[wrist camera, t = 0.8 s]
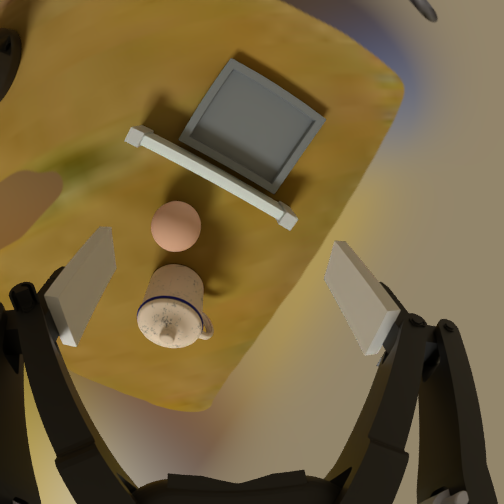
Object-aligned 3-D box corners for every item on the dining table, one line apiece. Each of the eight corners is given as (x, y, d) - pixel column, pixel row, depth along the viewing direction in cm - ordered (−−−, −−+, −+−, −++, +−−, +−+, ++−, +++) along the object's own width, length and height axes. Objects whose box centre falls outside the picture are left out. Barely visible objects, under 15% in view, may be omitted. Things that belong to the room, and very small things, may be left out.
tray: (180, 138, 32) (178, 140, 30) (230, 60, 27) (231, 58, 26) (272, 191, 36) (274, 194, 35) (322, 119, 32) (326, 119, 31)
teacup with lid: (138, 287, 41) (120, 339, 31) (171, 250, 39) (156, 300, 29) (195, 325, 46) (192, 378, 36) (230, 295, 44) (234, 349, 33)
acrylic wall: (136, 137, 31) (124, 140, 27) (142, 125, 30) (131, 126, 26) (282, 217, 38) (290, 230, 34) (289, 207, 38) (298, 219, 34)
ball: (149, 225, 37) (138, 246, 31) (169, 186, 34) (159, 201, 29) (189, 245, 39) (184, 269, 33) (210, 208, 36) (208, 227, 31)
